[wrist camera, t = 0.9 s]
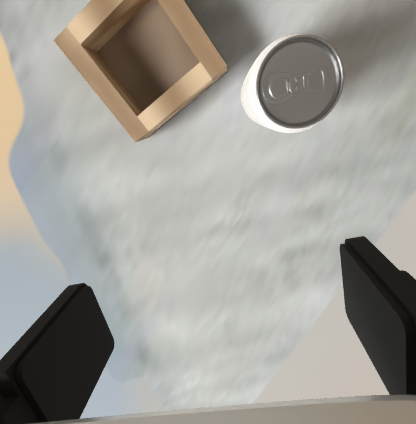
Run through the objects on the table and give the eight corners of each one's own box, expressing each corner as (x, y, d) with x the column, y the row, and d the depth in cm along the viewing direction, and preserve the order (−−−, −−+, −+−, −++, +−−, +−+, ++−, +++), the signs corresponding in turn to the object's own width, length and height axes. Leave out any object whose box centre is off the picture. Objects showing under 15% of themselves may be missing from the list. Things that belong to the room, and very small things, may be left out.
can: (236, 67, 29) (242, 39, 18) (300, 52, 28) (349, 14, 17) (245, 131, 31) (256, 143, 20) (305, 119, 30) (352, 125, 19)
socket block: (158, -31, 27) (145, -58, 22) (227, 72, 29) (227, 65, 25) (78, 50, 29) (53, 40, 25) (147, 137, 32) (135, 142, 28)
